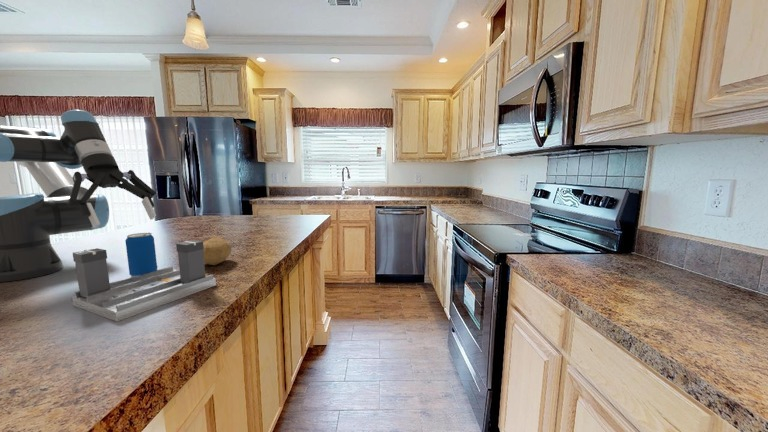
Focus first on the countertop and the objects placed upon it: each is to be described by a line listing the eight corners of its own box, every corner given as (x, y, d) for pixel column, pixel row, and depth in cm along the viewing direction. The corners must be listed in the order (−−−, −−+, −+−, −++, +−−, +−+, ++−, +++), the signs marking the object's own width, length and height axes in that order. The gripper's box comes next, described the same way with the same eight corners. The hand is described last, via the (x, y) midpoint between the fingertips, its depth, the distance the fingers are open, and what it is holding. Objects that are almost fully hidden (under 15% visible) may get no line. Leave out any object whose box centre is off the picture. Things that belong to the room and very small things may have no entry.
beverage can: (163, 271, 93) (159, 232, 91) (144, 278, 87) (139, 237, 85) (143, 270, 94) (139, 232, 92) (123, 278, 87) (118, 236, 86)
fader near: (78, 295, 69) (72, 252, 68) (102, 289, 73) (97, 247, 72) (87, 298, 68) (81, 254, 66) (111, 291, 72) (106, 249, 70)
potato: (191, 271, 93) (188, 246, 92) (204, 259, 106) (202, 236, 105) (226, 269, 96) (224, 243, 94) (234, 257, 109) (233, 234, 108)
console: (73, 305, 69) (71, 292, 69) (173, 275, 89) (172, 265, 89) (116, 321, 62) (115, 307, 62) (216, 285, 82) (215, 274, 81)
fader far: (179, 282, 78) (176, 243, 76) (196, 276, 82) (193, 239, 80) (189, 284, 76) (186, 244, 75) (206, 278, 80) (203, 241, 79)
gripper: (39, 151, 78) (72, 223, 76) (149, 152, 100) (177, 208, 98) (33, 167, 82) (64, 236, 80) (141, 165, 103) (168, 219, 101)
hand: (127, 221), depth 89 cm, fingers open, 13 cm apart
